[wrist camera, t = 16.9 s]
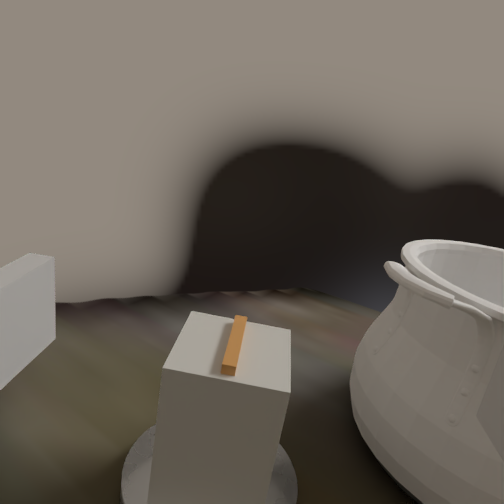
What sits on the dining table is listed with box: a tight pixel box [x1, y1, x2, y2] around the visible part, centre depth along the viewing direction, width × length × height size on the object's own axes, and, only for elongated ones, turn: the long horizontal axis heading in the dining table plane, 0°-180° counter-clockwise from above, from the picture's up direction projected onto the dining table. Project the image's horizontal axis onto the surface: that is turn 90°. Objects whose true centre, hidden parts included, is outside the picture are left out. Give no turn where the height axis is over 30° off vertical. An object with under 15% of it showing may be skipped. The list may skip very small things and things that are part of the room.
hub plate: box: [120, 424, 298, 504], centre depth 28 cm, size 12×12×8 cm
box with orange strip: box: [147, 311, 291, 504], centre depth 27 cm, size 7×7×11 cm
